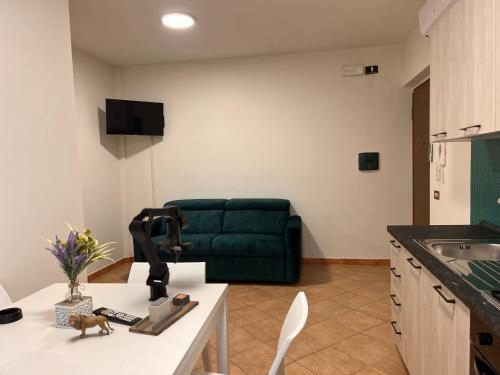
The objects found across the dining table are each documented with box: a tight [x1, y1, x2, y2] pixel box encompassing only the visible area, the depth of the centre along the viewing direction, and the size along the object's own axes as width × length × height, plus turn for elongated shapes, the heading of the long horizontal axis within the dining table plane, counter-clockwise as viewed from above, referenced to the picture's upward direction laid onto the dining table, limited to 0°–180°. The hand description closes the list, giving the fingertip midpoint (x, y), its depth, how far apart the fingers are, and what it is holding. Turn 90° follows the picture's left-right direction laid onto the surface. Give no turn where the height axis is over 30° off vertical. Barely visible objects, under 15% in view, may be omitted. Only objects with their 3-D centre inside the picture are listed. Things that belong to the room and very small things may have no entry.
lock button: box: [174, 294, 188, 299], centre depth 155 cm, size 3×3×3 cm
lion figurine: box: [68, 313, 115, 340], centre depth 132 cm, size 15×5×9 cm, turn 113°
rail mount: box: [128, 293, 199, 337], centre depth 145 cm, size 12×30×4 cm, turn 159°
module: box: [148, 297, 171, 323], centre depth 141 cm, size 4×8×7 cm, turn 159°
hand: (175, 263), depth 179 cm, fingers closed
